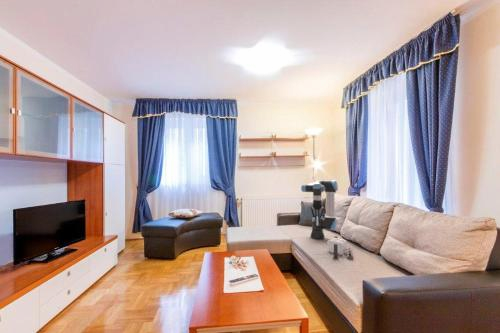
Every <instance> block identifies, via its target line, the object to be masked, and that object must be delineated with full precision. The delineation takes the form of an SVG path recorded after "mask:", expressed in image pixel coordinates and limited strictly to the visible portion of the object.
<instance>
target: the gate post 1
mask: <svg viewBox="0 0 500 333" xmlns="http://www.w3.org/2000/svg"><path fill="white" fill-rule="evenodd" d="M336 259H337V260H339V257H338V248H337V244H334V253H333V257H332V260H336Z"/></svg>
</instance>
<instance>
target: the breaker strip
mask: <svg viewBox="0 0 500 333" xmlns="http://www.w3.org/2000/svg"><path fill="white" fill-rule="evenodd" d="M346 256H347V257H346V258H347V260H351V259H352V260H353V258H354V257H353V251H352V249H351V247H347V251H346Z"/></svg>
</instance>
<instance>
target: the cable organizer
mask: <svg viewBox="0 0 500 333" xmlns="http://www.w3.org/2000/svg"><path fill="white" fill-rule="evenodd" d="M347 243H348V242H347V240H345V239H342V238H334V237H331V239H328V240H327V241H326V246H327V247H326V248H327V250H326V251H327V252H329V253H330V252H331V254H334V244H337V248H338V254H339V256H341V255H344V253H347V249H348V247H347V245H348V244H347Z"/></svg>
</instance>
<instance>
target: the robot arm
mask: <svg viewBox="0 0 500 333" xmlns="http://www.w3.org/2000/svg"><path fill="white" fill-rule="evenodd" d="M338 187H339V186H338V182H337V180H335V179H319V180H316V181H314V182H312V183H308V184H301V187H300V188H301V192H303V193H312V202H313V203H312V206H310V210H311V213H312V218H311V233H310V239H313V240H323V239H325V238H326V237H325V234H324V230H329V231H335V230H336V229H337V228H338V227H337V226H338V219H337V218H336V216H335V194H336V193H337V191H338V189H339V188H338ZM324 192H325V194H326V195H325V196H326V197H325V205H326V206H325V207H324V206H323V205H322V193H324ZM320 210H321V212H320ZM324 210H325V215H324V217H323V212H324Z"/></svg>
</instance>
